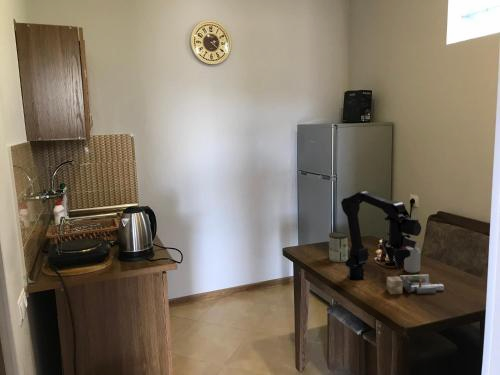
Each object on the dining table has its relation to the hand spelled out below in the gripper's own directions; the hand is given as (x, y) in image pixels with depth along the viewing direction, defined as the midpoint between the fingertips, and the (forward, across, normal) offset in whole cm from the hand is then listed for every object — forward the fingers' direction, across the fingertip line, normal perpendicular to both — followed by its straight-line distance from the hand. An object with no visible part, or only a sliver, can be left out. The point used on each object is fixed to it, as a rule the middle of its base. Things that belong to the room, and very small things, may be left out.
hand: (395, 265), depth 178 cm
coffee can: (+12, +46, +15) cm, 50 cm away
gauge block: (+12, 0, 0) cm, 12 cm away
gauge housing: (+12, +1, -11) cm, 16 cm away
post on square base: (+12, 0, -13) cm, 18 cm away
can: (+12, +24, -17) cm, 32 cm away
